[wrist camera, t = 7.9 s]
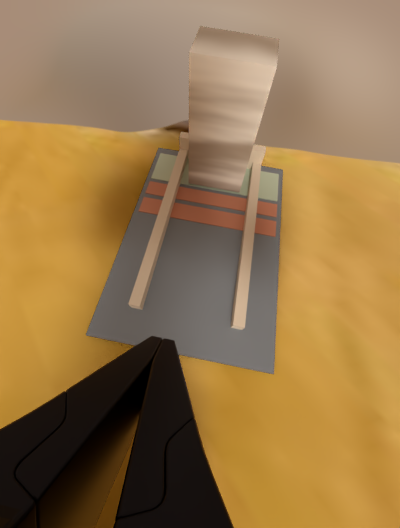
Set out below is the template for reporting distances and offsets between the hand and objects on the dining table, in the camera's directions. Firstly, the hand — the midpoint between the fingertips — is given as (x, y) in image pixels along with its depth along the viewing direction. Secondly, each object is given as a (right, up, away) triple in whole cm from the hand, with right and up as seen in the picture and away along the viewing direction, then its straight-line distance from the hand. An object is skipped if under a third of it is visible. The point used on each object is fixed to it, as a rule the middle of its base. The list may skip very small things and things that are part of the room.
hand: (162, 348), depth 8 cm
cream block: (+3, +14, +19) cm, 24 cm away
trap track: (+2, +5, +16) cm, 17 cm away
